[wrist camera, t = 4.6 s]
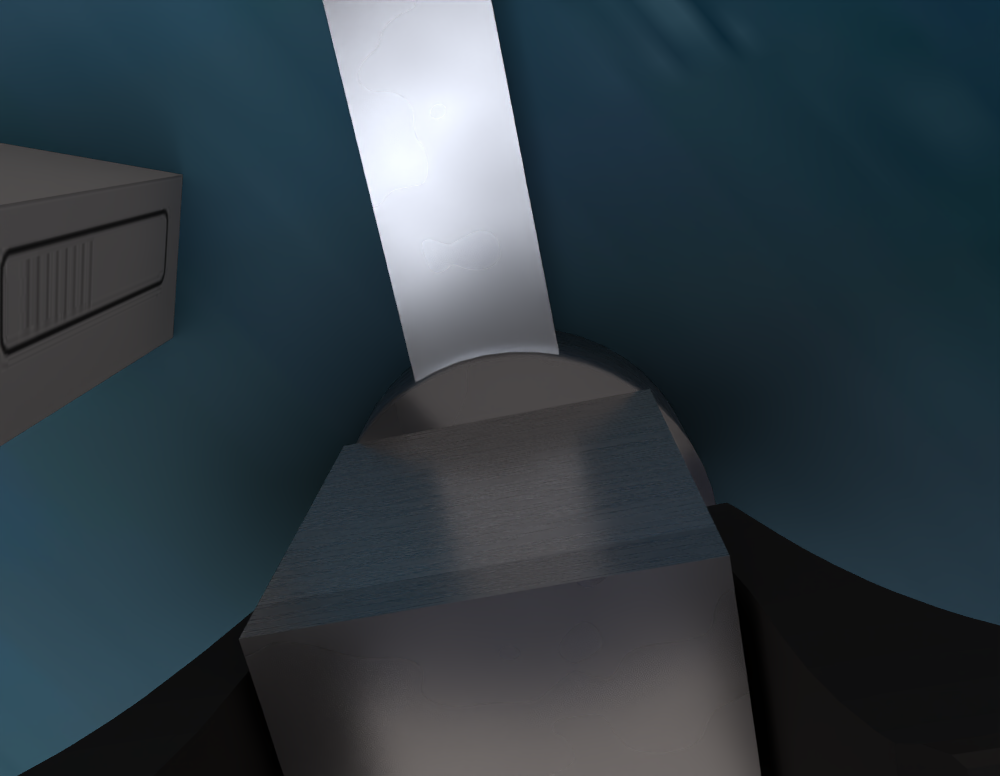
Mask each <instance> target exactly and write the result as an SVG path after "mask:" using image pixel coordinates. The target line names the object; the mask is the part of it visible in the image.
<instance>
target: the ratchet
mask: <svg viewBox="0 0 1000 776" xmlns="http://www.w3.org/2000/svg"><path fill="white" fill-rule="evenodd" d="M323 4H324V8H325V12H326V16H327V20H328V24H329V28H330V32H331V37H332V41H333V45H334V49H335V53H336V57H337V61H338V65H339V69H340V74H341V78H342V82H343V86H344V90H345V94H346V98H347V102H348V106H349V111H350V115H351V119H352V123H353V127H354V131H355V135H356V139H357V143H358V148H359V152H360V156H361V160H362V164H363V168H364V172H365V176H366V180H367V185H368V189H369V193H370V197H371V201H372V205H373V209H374V213H375V217H376V222H377V226H378V230H379V234H380V238H381V242H382V246H383V250H384V254H385V259H386V263H387V267H388V271H389V275H390V279H391V283H392V287H393V291H394V296H395V300H396V304H397V308H398V312H399V316H400V320H401V324H402V328H403V333H404V337H405V341H406V345H407V349H408V353H409V357H410V361H411V365H412V366H411V367H410V368H409V369H407V370H406V371H405V372H404V373H403V374H402V375H401V376H400V377H399V378H398V379H397V380H396V381H395V382H394V383H393V384H392V385H391V386H390V387H389V389H388V390H387V391H386V393H385V394H384V395H383V397H382V398H381V399H380V401H379V402H378V403H377V405H376V407H375V408H374V410H373V412H372V414H371V416H370V417H369V419H368V421H367V423H366V425H365V427H364V429H363V431H362V433H361V435H360V437H359V439H358V441H357V443H363V442H368V441H373V440H379V439H384V438H390V437H395V436H400V435H406V434H411V433H416V432H422V431H427V430H432V429H438V428H443V427H449V426H454V425H459V424H465V423H470V422H475V421H481V420H486V419H491V418H497V417H502V416H507V415H513V414H518V413H524V412H529V411H534V410H540V409H545V408H550V407H556V406H561V405H566V404H572V403H577V402H583V401H588V400H593V399H599V398H604V397H609V396H615V395H620V394H625V393H631V392H636V391H641V390H647V389H650V390H651V392H652V395H653V397H654V399H655V401H656V403H657V405H658V407H659V409H660V411H661V413H662V415H663V418H664V420H665V422H666V424H667V426H668V428H669V430H670V432H671V434H672V436H673V438H674V440H675V443H676V445H677V447H678V449H679V451H680V453H681V455H682V457H683V459H684V461H685V463H686V465H687V468H688V470H689V472H690V474H691V476H692V478H693V480H694V482H695V484H696V486H697V488H698V491H699V493H700V495H701V497H702V499H703V501H704V503H705V505H706V506H711V505H716V503H715V499H714V494H713V490H712V487H711V484H710V482H709V479H708V476H707V474H706V471H705V468H704V466H703V464H702V462H701V460H700V459H699V457H698V455H697V453H696V451H695V449H694V447H693V445H692V444H691V442H690V440H689V438H688V436H687V434H686V432H685V430H684V429H683V427H682V425H681V423H680V421H679V419H678V418H677V416H676V414H675V412H674V410H673V409H672V407H671V405H670V403H669V402H668V401H667V400H666V398H665V397H664V396H663V394H662V393H661V392H660V390H659V389H658V388H657V386H656V385H655V384H654V383H653V382H652V381H651V380H650V379H649V378H648V377H647V376H646V375H645V374H644V373H643V372H642V371H641V370H639V369H638V368H637V367H635V366H634V365H633V364H631V363H630V362H629V361H627V360H626V359H625V358H623V357H622V356H620V355H618V354H617V353H615V352H613V351H611V350H610V349H608V348H606V347H604V346H602V345H600V344H597V343H595V342H593V341H590V340H588V339H585V338H583V337H580V336H576V335H572V334H568V333H564V332H561V331H555V327H554V322H553V316H552V311H551V306H550V301H549V296H548V290H547V285H546V280H545V275H544V270H543V264H542V259H541V254H540V249H539V244H538V238H537V233H536V228H535V223H534V218H533V212H532V207H531V202H530V197H529V192H528V186H527V181H526V176H525V171H524V166H523V160H522V155H521V150H520V145H519V140H518V134H517V129H516V124H515V119H514V114H513V108H512V103H511V98H510V93H509V88H508V82H507V77H506V72H505V67H504V62H503V56H502V51H501V46H500V41H499V36H498V30H497V25H496V20H495V15H494V10H493V4H492V0H323ZM357 443H356V444H357Z"/></svg>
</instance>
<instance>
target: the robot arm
mask: <svg viewBox="0 0 1000 776" xmlns="http://www.w3.org/2000/svg"><path fill="white" fill-rule="evenodd" d="M706 507H707V509H708V511H709V513H710V516H711V518H712V520H713V522H714V524H715V526H716V528H717V530H718V532H719V534H720V536H721V539H722V541H723V543H724V545H725V547H726V549H727V551H728V553H729V555H730V561H731V568H732V575H733V582H734V589H735V596H736V603H737V610H738V617H739V624H740V631H741V638H742V645H743V652H744V659H745V666H746V673H747V680H748V687H749V694H750V701H751V708H752V715H753V722H754V729H755V736H756V742H757V749H758V756H759V763H760V770H761V776H1000V625H996V624H992V623H988V622H985V621H981V620H977V619H973V618H970V617H966V616H963V615H960V614H956V613H953V612H950V611H947V610H943V609H940V608H937V607H934V606H932V605H929V604H926V603H924V602H921V601H918V600H915V599H913V598H910V597H907V596H904V595H902V594H899V593H896V592H893V591H891V590H888V589H886V588H884V587H881V586H879V585H876V584H874V583H872V582H869V581H867V580H865V579H863V578H861V577H859V576H857V575H855V574H852V573H850V572H848V571H846V570H844V569H842V568H840V567H838V566H836V565H834V564H832V563H830V562H828V561H826V560H824V559H822V558H820V557H818V556H816V555H814V554H813V553H811V552H809V551H807V550H805V549H803V548H802V547H800V546H798V545H796V544H795V543H793V542H791V541H789V540H788V539H786V538H784V537H783V536H781V535H779V534H778V533H776V532H774V531H773V530H771V529H769V528H768V527H766V526H764V525H763V524H761V523H760V522H758V521H756V520H755V519H753V518H752V517H750V516H748V515H747V514H745V513H744V512H742V511H740V510H739V509H737V508H736V507H734V506H732V505H730V504H728V503H723V504H717V505H711V506H706ZM253 612H254V611H253ZM253 612H252V613H250V614H249V615H248V616H247V617H246V618H244V619H243V620H242V621H241V622H240V623H238V624H237V625H236V626H235V627H233V628H232V629H231V630H230V631H229V632H227V633H226V634H225V635H224V636H223V637H221V638H220V639H219V640H218V641H216V642H215V643H214V644H213V645H212V646H210V647H209V648H208V649H207V650H206V651H204V652H203V653H202V654H201V655H199V656H198V657H197V658H195V659H194V660H193V661H191V662H190V663H189V664H187V665H186V666H185V667H184V668H182V669H181V670H180V671H178V672H177V673H176V674H174V675H173V676H172V677H170V678H169V679H168V680H166V681H165V682H164V683H163V684H161V685H160V686H159V687H157V688H156V689H155V690H153V691H152V692H151V693H149V694H148V695H147V696H146V697H144V698H143V699H141V700H140V701H138V702H137V703H136V704H134V705H133V706H131V707H130V708H128V709H127V710H126V711H124V712H123V713H121V714H120V715H118V716H117V717H115V718H114V719H112V720H111V721H109V722H108V723H106V724H105V725H103V726H101V727H100V728H98V729H97V730H95V731H94V732H92V733H90V734H89V735H87V736H86V737H84V738H83V739H81V740H79V741H78V742H76V743H75V744H73V745H71V746H70V747H68V748H66V749H65V750H63V751H61V752H60V753H58V754H56V755H54V756H53V757H51V758H49V759H47V760H45V761H44V762H42V763H40V764H38V765H36V766H34V767H33V768H31V769H29V770H27V771H25V772H24V773H22V774H20V775H18V776H284V774H283V771H282V768H281V765H280V762H279V759H278V756H277V753H276V750H275V747H274V744H273V741H272V738H271V735H270V732H269V729H268V726H267V723H266V720H265V717H264V714H263V711H262V707H261V704H260V701H259V698H258V695H257V692H256V689H255V686H254V683H253V680H252V677H251V674H250V671H249V668H248V665H247V662H246V659H245V656H244V653H243V650H242V647H241V644H240V641H239V638H240V636H241V634H242V632H243V630H244V629H245V627H246V625H247V623H248V621H249V619H250V618H251V616H252V614H253Z"/></svg>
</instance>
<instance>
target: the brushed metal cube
mask: <svg viewBox="0 0 1000 776" xmlns="http://www.w3.org/2000/svg"><path fill="white" fill-rule="evenodd" d="M239 641H240V644H241V647H242V650H243V653H244V656H245V659H246V662H247V665H248V668H249V671H250V674H251V677H252V680H253V683H254V686H255V689H256V692H257V695H258V698H259V701H260V704H261V707H262V711H263V714H264V717H265V720H266V723H267V726H268V729H269V732H270V735H271V738H272V741H273V744H274V747H275V750H276V753H277V756H278V759H279V762H280V765H281V768H282V771H283V774H284V776H761V770H760V763H759V756H758V749H757V742H756V736H755V729H754V722H753V715H752V708H751V701H750V694H749V687H748V680H747V673H746V666H745V659H744V652H743V645H742V638H741V631H740V624H739V617H738V610H737V603H736V596H735V589H734V582H733V575H732V568H731V561H730V555H729V553H728V551H727V549H726V547H725V545H724V543H723V541H722V539H721V536H720V534H719V532H718V530H717V528H716V526H715V524H714V522H713V520H712V518H711V516H710V513H709V511H708V509H707V507H706V505H705V503H704V501H703V499H702V497H701V495H700V493H699V491H698V488H697V486H696V484H695V482H694V480H693V478H692V476H691V474H690V472H689V470H688V468H687V465H686V463H685V461H684V459H683V457H682V455H681V453H680V451H679V449H678V447H677V445H676V443H675V440H674V438H673V436H672V434H671V432H670V430H669V428H668V426H667V424H666V422H665V420H664V418H663V415H662V413H661V411H660V409H659V407H658V405H657V403H656V401H655V399H654V397H653V395H652V392H651V390H650V389H647V390H641V391H636V392H631V393H625V394H620V395H615V396H609V397H604V398H599V399H593V400H588V401H583V402H577V403H572V404H566V405H561V406H556V407H550V408H545V409H540V410H534V411H529V412H524V413H518V414H513V415H507V416H502V417H497V418H491V419H486V420H481V421H475V422H470V423H465V424H459V425H454V426H449V427H443V428H438V429H432V430H427V431H422V432H416V433H411V434H406V435H400V436H395V437H390V438H384V439H379V440H373V441H368V442H363V443H357V444H352V445H347V446H344V447H343V449H342V450H341V452H340V454H339V456H338V458H337V460H336V461H335V463H334V465H333V467H332V469H331V471H330V472H329V474H328V476H327V478H326V480H325V482H324V483H323V485H322V487H321V489H320V491H319V493H318V494H317V496H316V498H315V500H314V502H313V504H312V505H311V507H310V509H309V511H308V513H307V515H306V516H305V518H304V520H303V522H302V524H301V526H300V528H299V529H298V531H297V533H296V535H295V537H294V539H293V540H292V542H291V544H290V546H289V548H288V550H287V551H286V553H285V555H284V557H283V559H282V561H281V562H280V564H279V566H278V568H277V570H276V572H275V573H274V575H273V577H272V579H271V581H270V583H269V584H268V586H267V588H266V590H265V592H264V594H263V595H262V597H261V599H260V601H259V603H258V605H257V607H256V608H255V610H254V612H253V614H252V616H251V618H250V619H249V621H248V623H247V625H246V627H245V629H244V630H243V632H242V634H241V636H240V638H239Z"/></svg>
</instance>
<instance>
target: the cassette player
mask: <svg viewBox="0 0 1000 776" xmlns="http://www.w3.org/2000/svg"><path fill="white" fill-rule="evenodd" d="M182 180H183V175H182V174H176V173H170V172H164V171H159V170H153V169H147V168H141V167H136V166H130V165H124V164H118V163H113V162H107V161H101V160H95V159H90V158H84V157H78V156H72V155H67V154H61V153H55V152H49V151H44V150H38V149H32V148H27V147H21V146H15V145H9V144H4V143H0V446H1V445H3V444H5V443H6V442H8V441H9V440H11V439H12V438H14V437H16V436H17V435H19V434H20V433H22V432H24V431H25V430H27V429H28V428H30V427H32V426H33V425H35V424H36V423H38V422H39V421H41V420H43V419H44V418H46V417H47V416H49V415H51V414H52V413H54V412H55V411H57V410H58V409H60V408H62V407H63V406H65V405H66V404H68V403H70V402H71V401H73V400H74V399H76V398H78V397H79V396H81V395H82V394H84V393H85V392H87V391H89V390H90V389H92V388H93V387H95V386H97V385H98V384H100V383H101V382H103V381H105V380H106V379H108V378H109V377H111V376H112V375H114V374H116V373H117V372H119V371H120V370H122V369H124V368H125V367H127V366H128V365H130V364H132V363H133V362H135V361H136V360H138V359H139V358H141V357H143V356H144V355H146V354H147V353H149V352H151V351H152V350H154V349H155V348H157V347H159V346H160V345H162V344H163V343H165V342H166V341H168V340H170V339H171V338H173V326H174V310H175V293H176V277H177V261H178V245H179V228H180V212H181V196H182Z"/></svg>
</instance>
